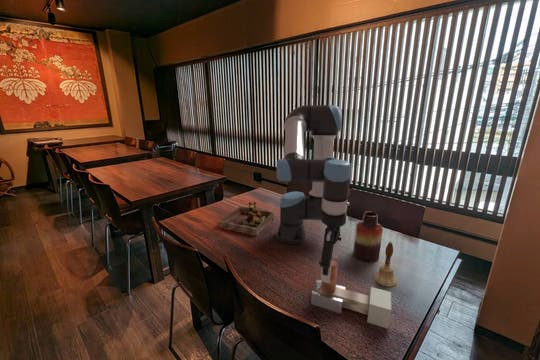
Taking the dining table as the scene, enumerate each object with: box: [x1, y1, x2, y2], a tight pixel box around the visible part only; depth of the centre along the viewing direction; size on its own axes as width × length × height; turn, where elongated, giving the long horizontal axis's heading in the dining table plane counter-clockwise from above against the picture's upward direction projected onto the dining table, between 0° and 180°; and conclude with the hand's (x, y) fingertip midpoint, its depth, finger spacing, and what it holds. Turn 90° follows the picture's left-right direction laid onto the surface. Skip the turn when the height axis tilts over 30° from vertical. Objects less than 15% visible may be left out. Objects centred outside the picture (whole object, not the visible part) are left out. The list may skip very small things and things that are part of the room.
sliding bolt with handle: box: [320, 259, 370, 316], centre depth 82 cm, size 20×5×14 cm, turn 66°
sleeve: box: [310, 279, 346, 314], centre depth 87 cm, size 10×7×5 cm
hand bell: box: [373, 241, 398, 288], centre depth 95 cm, size 8×8×16 cm
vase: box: [353, 211, 384, 263], centre depth 110 cm, size 11×11×20 cm
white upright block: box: [366, 286, 392, 330], centre depth 80 cm, size 6×8×7 cm
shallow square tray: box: [218, 205, 275, 237], centre depth 144 cm, size 23×23×4 cm
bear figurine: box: [242, 201, 266, 228], centre depth 142 cm, size 14×15×12 cm
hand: (329, 268), depth 84 cm, fingers open, 13 cm apart
